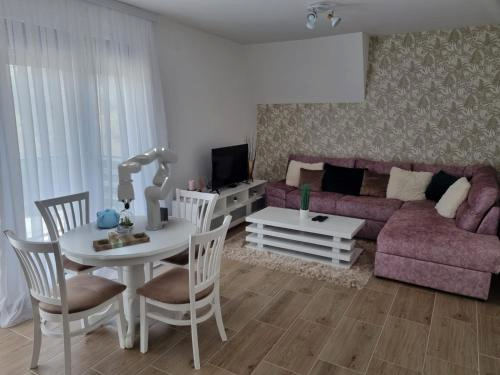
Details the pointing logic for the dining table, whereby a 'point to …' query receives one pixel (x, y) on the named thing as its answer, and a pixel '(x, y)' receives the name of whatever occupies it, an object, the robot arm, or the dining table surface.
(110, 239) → the birch block
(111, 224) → the decorative pot
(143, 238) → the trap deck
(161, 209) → the small box
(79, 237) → the dining table surface
